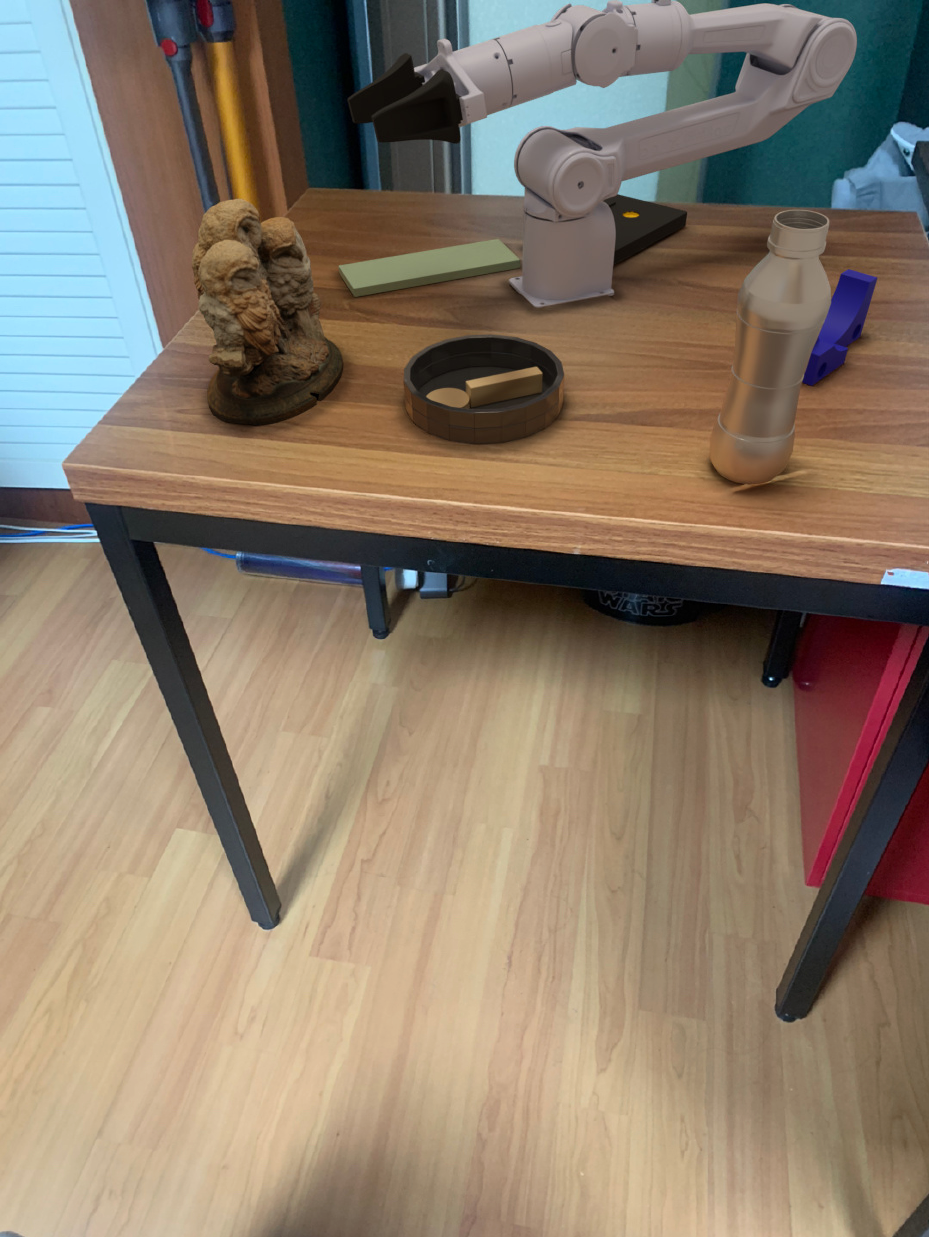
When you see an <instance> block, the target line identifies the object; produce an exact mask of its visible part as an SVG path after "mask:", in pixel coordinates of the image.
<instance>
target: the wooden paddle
mask: <svg viewBox="0 0 929 1237" xmlns="http://www.w3.org/2000/svg"><path fill="white" fill-rule="evenodd" d="M542 378H543V373H542V372H541V371H540V370H539V368H538V367H532V368H527V369H522V370H518V371H513V372H508V373H503V374H498V375H493V376H488V377H484V378H479V379H474V380H469V381H466V392H464V391H462V390H460V389H456V388H441V389H437V390H434V391H432V392H430V393H429V394H428V395H427V396H426V397H427V398H429V399H430V400H433V401H436V402H439V403H442V404H445V405H448V406H451V407H458V408H466V409H470V406H471V407H476V406H481V405H486V404H490V403H495V402H500V401H504V400H509V399H514V398H518V397H523V396H528V395H533V394H537V393H542Z"/></svg>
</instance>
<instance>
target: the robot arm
mask: <svg viewBox="0 0 929 1237" xmlns="http://www.w3.org/2000/svg"><path fill="white" fill-rule="evenodd" d="M856 32H857V31H856V29H855V27H854V25H853V24H852V22H850V21H849V20H848V19H846V18H842V17H830V16H826V15H823V14H819V13H814V12H811V11H807V10H804V9H799V8H798V7H796V6H795V5H792V4H790V3H789V4H788V3H783V4H774V3H765V2H764V3H757V4H751V5H744V6H737V7H731V8H725V9H719V10H718V9H717V10H712V11H704V12H699V13H693V14H689V13H688V11H687V9H686V8H685V7H684V5H683V4H682V3H680V2H679V1H677V0H651V2H647V3H646V2H645V3H637V4H636V3H635V4H628V5H627V4H626V5H625V4H623V1H621V0H608V1H607V2H606V7H604V8H603V9H602V10H600V9H599V10H598V9H596V8H593V7H590V6H588V5H584V4H582V5H581V4H575V5H572V3H570V2H569V3H567V4H565V5H563V6H561V8H559V9H558V10H557V11H556V12H555V14H554V15H553V16H552V18H551V19H550V21H547V22H543V23H541V24H534V25H531V26H528V27H524V28H522V29H518V30H516V31H512V32H509V33H506V34H503V35H500V36H497V37H493V38H491V39H488V40H485V41H481V42H479V43H476V44H472V45H469V46H466V47H463V48H461V49H457V50H454V51H453V46H452V43H451V41H450V40H448V39H447V38H441V39H438V40H436V41H437V42H436V45H437V47H436V48H437V51H438V52H437V54H436V56H435V57H434V58H433V59H431V60H430V61H429V62H428V63H424V64H422V65H418V66H416V67H415V65H414V62H413V56H412V54H410V53H408V52H405V53H402V54H401V55H400V56H399V57H398V58H397V59H396V61H395V62H394V63H393V64H392V65H391V67H389V69H388V70H386V71H385V72H384V73H383V74H382V75H381V76H379V77H377V79H375V80H373V81H372V82H370V83H369V84H367V85H365V86H364V87H362V88H360V89H359V90H357V91H356V92H354V93H353V94H352V95H350V96H349V97H347V103H348V104H347V105H348V108H349V112H350V115H351V119H352V122H353V124H359V125H360V124H361V125H363V124H373V130H374V133H375V138H376V142H378V143H399V142H408V141H423V140H427V141H441V142H445V143H450V144H454V145H457V144H458V145H459V144H460V142H461V140H462V139H461V138H462V136H461V131H460V128H462V127H465V126H467V125H470V124H473V123H475V122H478V121H481V120H485V119H487V118H488V116H490V115H494V114H497V113H498V112H502V111H505V110H508V109H511V108H514V107H516V106H520V105H522V104H525V103H528V102H531V101H534V100H537V99H540V98H544V97H547V96H549V95H551V94H553V93H555V92H559V91H561V90H565V89H567V88H570V87H573V86H576V85H577V83H578V82H580V83H582V84H585V85H587V86H591V87H600V88H602V89H605V88H607V87H609V86H612V85H613V84H614V83H615V82H616V81H617V80H618V79H619V78H623V77H632V76H639V75H640V76H641V75H642V76H643V75H648V74H649V75H650V74H659V73H666V72H673V71H675V70H677V69H678V68H679V67H680V66H681V65H682V64H683V62H684V61H685V59H686V58H687V57H688V55H704V54H705V55H707V54H723V53H741V52H742V53H743V52H744V53H746V54H745V58H744V60H743V64H742V67H741V70H740V72H739V75H738V78H737V80H736V83H735V91H733V92H732V93H728V94H723V95H720V96H717V97H714V98H709V99H706V100H702V101H698V102H695V103H692V104H688V105H687V104H686V105H684V106H681V107H676V108H673V109H669V110H666V111H663V112H662V111H661V112H659V113H655V114H652V115H647V116H644V117H640V118H637V119H633V120H629V121H626V122H622V123H619V124H615V125H611V126H607V127H602V128H601V127H585V126H583V127H582V126H575V127H571V128H568V129H559V128H556V127H554V126H550V125H541V126H537V127H535V128H533V129H531V130H530V131H529V132H527V133H526V134H525V135H524V136H523V138H522V139H521V140H520V142H519V144H518V145H517V148H516V150H515V153H514V160H513V168H514V174H515V177H516V179H517V181H518V182H519V184H520V185H521V186H522V187H523V188H524V194H523V195H524V196H523V198H524V199H523V205H522V206H523V210H522V212H523V214H522V266H521V267H522V269H521V270H522V271H521V272H522V273H521V275H520V276H516V277H511V278H509V279H508V284H509V285H510V286H511V287H512V288H513V289H514V290H515V291H516V293H518V294H519V295H522V296H523V297H524V298H525V300H527V301H528V302H529V303H530V304H531V305H532V306H533V307H534V308H536V309H539V308H545V307H550V306H556V305H560V304H566V303H567V304H568V303H571V302H577V301H582V300H587V299H592V298H597V297H603V296H608V297H613V296H614V295H615V290H614V289H613V288H612V284H613V271H614V265H613V262H614V250H615V239H616V230H615V222H614V217H613V214H612V211H611V209H610V207H609V206H608V205H607V204H606V203H605V202H603V200H605V199H608V198H610V197H614V196H616V195H617V194H619V192H620V189H621V186H622V183H623V182H625V181H629V180H632V179H635V178H638V177H639V178H640V177H643V176H646V175H649V174H652V173H653V174H654V173H656V172H660V171H664V170H667V169H671V168H673V167H677V166H681V165H684V164H688V163H692V162H695V161H699V160H703V159H705V158H708V157H712V156H716V155H719V154H723V153H726V152H729V151H733V150H737V149H740V148H743V147H747V146H750V145H754V144H758V143H761V142H763V141H765V140H768V139H769V138H771V137H772V136H773V135H774V134H776V133H777V132H778V131H779V130H781V129H782V128H783V127H784V126H785V125H787V124H788V123H790V121H792V120H793V119H795V117H797V116H798V115H799V114H800V113H802V112H803V111H804V110H805V109H807V108H808V107H809V106H811V105H813V104H816V103H819V102H821V101H824V100H827V99H829V98H830V99H831V98H832V97H833V96H834V94H835V93H836V91H837V89H838V88H839V86H840V84H841V83H842V81H843V80H844V78H845V76H846V75H847V73H848V72H849V70H850V67H851V66H852V64H853V61H854V59H855V56H856V52H857V45H858V38H857V37H858V36H857V33H856ZM577 81H578V82H577Z"/></svg>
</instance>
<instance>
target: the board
mask: <svg viewBox="0 0 929 1237" xmlns="http://www.w3.org/2000/svg"><path fill="white" fill-rule="evenodd" d="M520 268H521V259H520V258H519V257H518V256H517V254H515V253H514V252H513V251H512V250H511V249H510V248H508V246H506V245H505V243H503V241H501V240H500V239H499V238H496V239H489V240H482V241H476V242H471V243H465V244H459V245H458V244H457V245H453V246H447V247H441V248H435V249H428V250H423V251H417V252H410V253H406V254H399V255H393V256H387V257H381V258H375V259H370V260H363V261H358V262H352V263H345V264H339V265H338V273H339V276H340V277H341V278H342V280H343V281H344V283H345V285H346V286H347V288H348V289H349V291H350V292H351V294H352V296H353V297H354V298H357V297H363V296H369V295H374V294H380V293H387V292H391V291H392V292H393V291H396V290H397V291H398V290H404V289H409V288H414V287H420V286H426V285H430V284H431V285H432V284H437V283H443V282H449V281H454V280H460V279H464V278H471V277H476V276H481V275H482V276H483V275H487V274H488V275H489V274H494V273H500V272H504V271H510V270H516V269H520Z"/></svg>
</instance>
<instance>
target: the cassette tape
mask: <svg viewBox="0 0 929 1237" xmlns="http://www.w3.org/2000/svg"><path fill="white" fill-rule="evenodd" d="M603 202H605V203H606V204H607V205H608V206H609V207H610V209H611V211H612V214H613V217H614V222H615V230H616V239H615V250H614V262H613V266H615V265H616V264H618V263H620V262H622V261H624V260H625V259H628V258H629V257H631V256H633V255H635V254H636V253H638V252H640V251H642V250H644V249H646V248H648V247H649V246H651V245H653V244H655V243H657V242H659V241H660V240H662V239H664V238H665V237H667V236H669V235H672V234H673V233H674V232H676V231H678V230H680V229H682V228H684V227H686V225H687V218H688V217H687V216H688V211H687V210H683V209H679V208H674V207H671V206H667V205H664V204H659V203H656V202H655V203H654V202H651V201H648V200H647V201H646V200H644V199H639V198H635V197H631V196H627V195H622V194H619V193H618V194H617V195H616V196H614V197H610V198H608V199H605V200H603Z"/></svg>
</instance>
